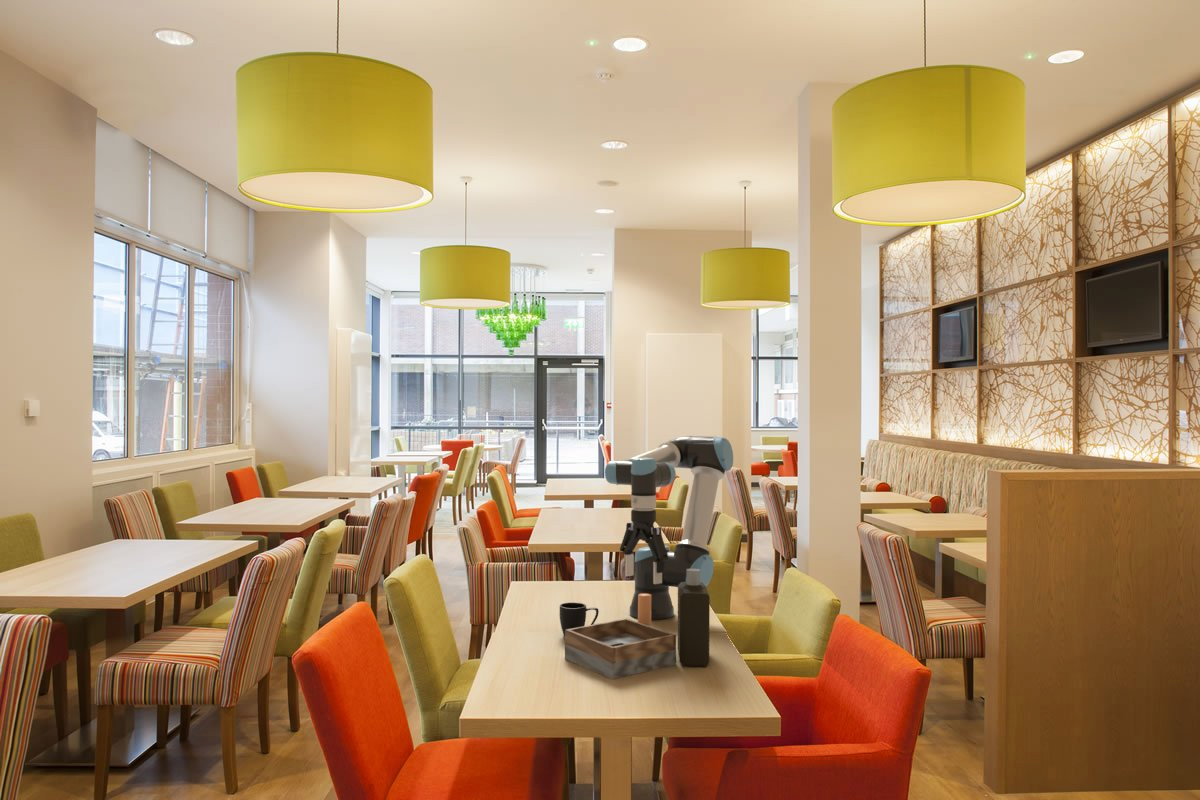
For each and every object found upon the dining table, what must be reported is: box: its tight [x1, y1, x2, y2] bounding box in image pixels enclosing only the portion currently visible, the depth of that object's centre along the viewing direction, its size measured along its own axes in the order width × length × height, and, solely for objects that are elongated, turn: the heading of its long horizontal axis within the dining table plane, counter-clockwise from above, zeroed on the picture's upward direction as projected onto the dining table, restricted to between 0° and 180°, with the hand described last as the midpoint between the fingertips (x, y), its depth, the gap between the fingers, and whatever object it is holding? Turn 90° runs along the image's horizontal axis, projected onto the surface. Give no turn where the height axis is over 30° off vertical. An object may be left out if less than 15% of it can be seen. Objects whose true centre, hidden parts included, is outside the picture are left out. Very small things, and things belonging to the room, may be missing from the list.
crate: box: [564, 617, 677, 680], centre depth 229 cm, size 22×22×8 cm
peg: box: [637, 594, 652, 627], centre depth 248 cm, size 4×4×14 cm
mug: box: [559, 601, 600, 638], centre depth 253 cm, size 8×12×10 cm
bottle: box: [677, 568, 711, 668], centre depth 231 cm, size 8×16×25 cm, turn 177°
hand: (643, 579), depth 248 cm, fingers open, 13 cm apart
